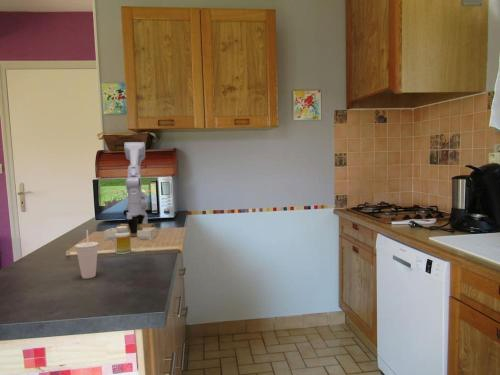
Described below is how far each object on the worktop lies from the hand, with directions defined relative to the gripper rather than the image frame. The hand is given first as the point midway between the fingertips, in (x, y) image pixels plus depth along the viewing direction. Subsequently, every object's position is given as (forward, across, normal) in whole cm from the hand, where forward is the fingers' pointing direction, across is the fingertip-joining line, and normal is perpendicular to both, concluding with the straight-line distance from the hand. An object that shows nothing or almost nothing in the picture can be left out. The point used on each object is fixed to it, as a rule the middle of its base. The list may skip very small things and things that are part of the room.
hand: (136, 232), depth 161 cm
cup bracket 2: (+1, +6, +7) cm, 10 cm away
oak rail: (+2, 0, 0) cm, 2 cm away
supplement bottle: (+2, +31, +7) cm, 32 cm away
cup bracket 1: (+1, +6, -7) cm, 10 cm away
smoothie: (+2, +58, +8) cm, 59 cm away
